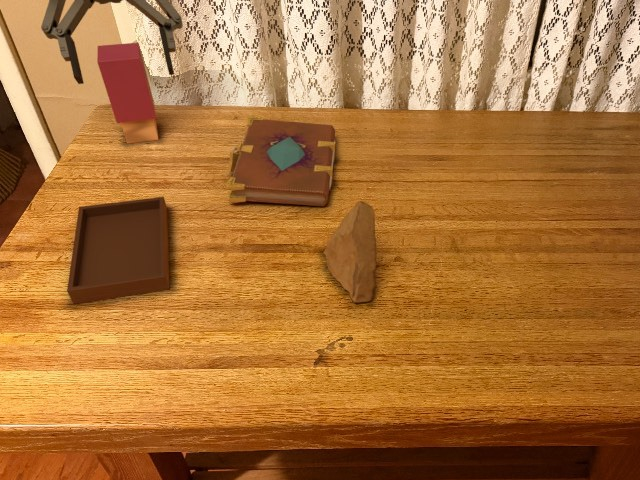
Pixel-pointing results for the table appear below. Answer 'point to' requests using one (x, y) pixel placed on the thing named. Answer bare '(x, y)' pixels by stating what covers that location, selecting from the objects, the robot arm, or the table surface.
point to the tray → (120, 250)
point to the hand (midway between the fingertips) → (126, 76)
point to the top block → (126, 82)
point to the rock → (354, 252)
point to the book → (283, 163)
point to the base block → (140, 131)
